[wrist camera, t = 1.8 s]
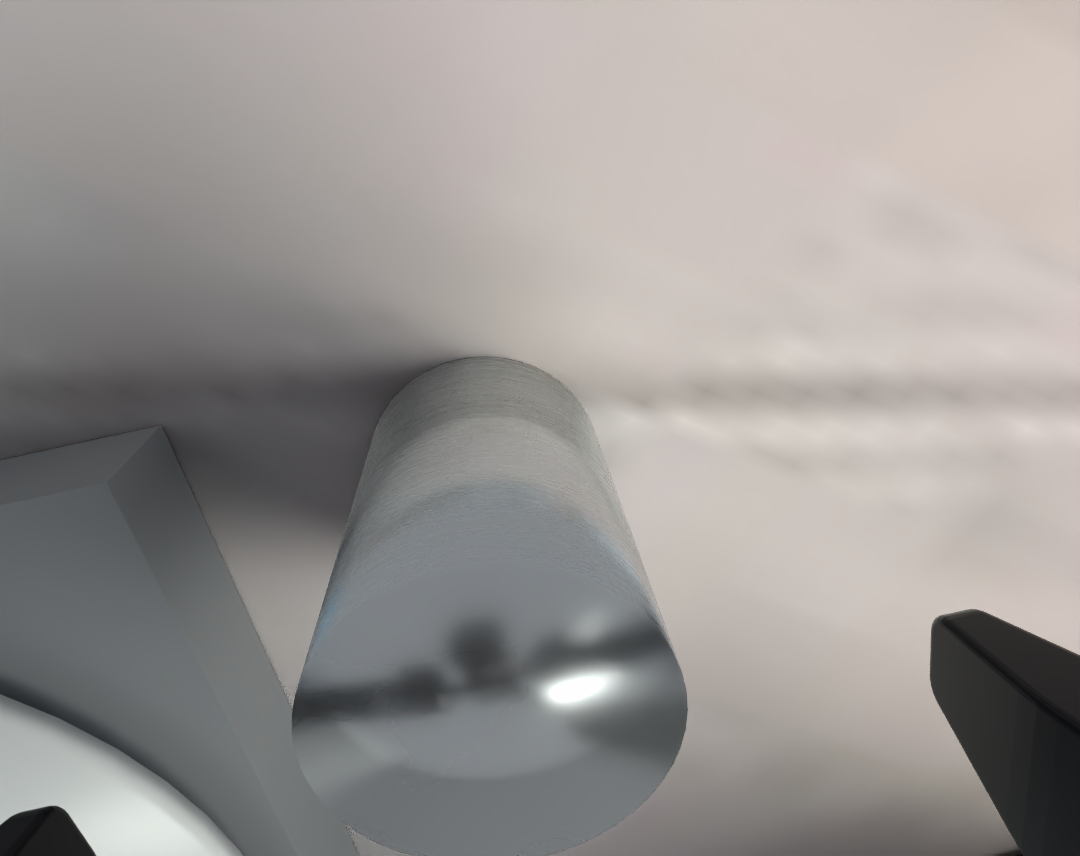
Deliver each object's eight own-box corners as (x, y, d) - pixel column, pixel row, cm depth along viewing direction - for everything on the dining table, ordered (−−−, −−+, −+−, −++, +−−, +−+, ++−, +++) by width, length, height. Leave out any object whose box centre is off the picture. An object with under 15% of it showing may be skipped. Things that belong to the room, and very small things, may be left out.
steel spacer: (577, 333, 12) (660, 526, 7) (614, 535, 14) (706, 821, 8) (339, 385, 12) (229, 619, 7) (405, 580, 14) (360, 895, 8)
